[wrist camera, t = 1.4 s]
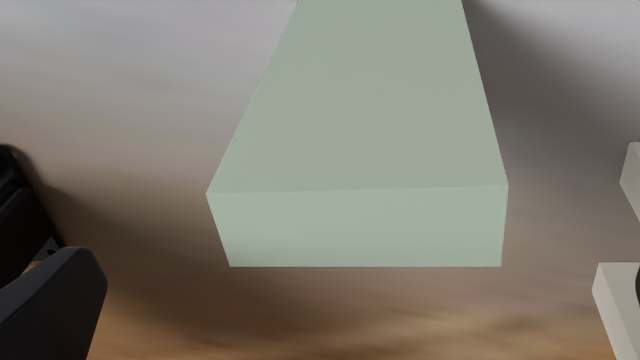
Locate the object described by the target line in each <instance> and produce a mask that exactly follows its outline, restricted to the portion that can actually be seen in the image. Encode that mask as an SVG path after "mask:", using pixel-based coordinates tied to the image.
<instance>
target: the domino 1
mask: <svg viewBox="0 0 640 360" xmlns="http://www.w3.org/2000/svg"><path fill="white" fill-rule="evenodd" d="M508 187H509V185H508V181H507V177H506V173H505V169H504V165H503V162H502V158H501V154H500V150H499V146H498V142H497V138H496V134H495V130H494V127H493V123H492V119H491V115H490V111H489V107H488V103H487V99H486V95H485V92H484V88H483V84H482V80H481V76H480V72H479V68H478V64H477V60H476V57H475V53H474V49H473V45H472V41H471V37H470V33H469V29H468V25H467V22H466V18H465V14H464V10H463V6H462V2H461V0H306V1H298V2H297V5H296V7H295V9H294V11H293V13H292V15H291V17H290V19H289V21H288V23H287V25H286V27H285V30H284V32H283V34H282V36H281V38H280V40H279V42H278V44H277V46H276V48H275V50H274V52H273V55H272V57H271V59H270V61H269V63H268V65H267V67H266V69H265V71H264V73H263V75H262V77H261V80H260V82H259V84H258V86H257V88H256V90H255V92H254V94H253V96H252V98H251V100H250V102H249V105H248V107H247V109H246V111H245V113H244V115H243V117H242V119H241V121H240V123H239V125H238V127H237V130H236V132H235V134H234V136H233V138H232V140H231V142H230V144H229V146H228V148H227V150H226V152H225V155H224V157H223V159H222V161H221V163H220V165H219V167H218V169H217V171H216V173H215V175H214V177H213V180H212V182H211V184H210V186H209V188H208V190H207V192H206V197H207V200H208V203H209V206H210V209H211V212H212V215H213V218H214V221H215V223H216V226H217V229H218V232H219V235H220V238H221V241H222V244H223V247H224V250H225V253H226V256H227V259H228V262H229V265H230V267H501V258H502V248H503V238H504V228H505V218H506V208H507V198H508Z"/></svg>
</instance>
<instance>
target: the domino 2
mask: <svg viewBox="0 0 640 360" xmlns="http://www.w3.org/2000/svg"><path fill="white" fill-rule="evenodd" d="M639 266H640V262H599V264H598V268H597V272H596V275H595V279H594V283H593V287H592V294H593V297H594V299H595V302H596V305H597V307H598V310H599V313H600V316H601V318H602V321H603V324H604V327H605V329H606V332H607V335H608V337H609V340H610V343H611V346H612V348H613V351H614V354H615V357H616V359H617V360H640V307H639V303H638V299H637V295H636V290H635V279H636V275H637V272H638V269H639Z"/></svg>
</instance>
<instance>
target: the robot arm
mask: <svg viewBox="0 0 640 360" xmlns="http://www.w3.org/2000/svg"><path fill="white" fill-rule="evenodd" d="M32 261H42V262H41V263H39V264H38V265H36V266H35V267H33V268H32V269H30V270H29V271H27V272H26V273H24V274H23V272H24V271H25V270H26V269H27V267H28V266H29V265H30V263H31V262H32ZM22 274H23V275H22ZM635 290H636V295H637V299H638V303H639V307H640V266H639V269H638V272H637V275H636V279H635ZM106 293H107V278H106V276H105V274H104V272H103V270H102V269H101V267H100V265H99V263H98V261H97V259H96V257H95V256H94V254H93V252H92V251H91V250H90V249H89V248H88V247H85V246H73V247H66V246H65V245H64V243H63V241H62V240H61V238H60V236H59V234H58V233H57V231H56V229H55V227H54V226H53V224H52V222H51V221H50V219H49V217H48V215H47V214H46V212H45V210H44V208H43V207H42V205H41V203H40V202H39V200H38V198H37V196H36V195H35V193H34V191H33V190H32V188H31V186H30V184H29V183H28V181H27V179H26V177H25V176H24V174H23V172H22V171H21V169H20V167H19V165H18V164H17V162H16V160H15V158H14V157H13V155H12V153H11V152H10V151H9V150H8V149H7V148H6V147H4V146H2V145H0V360H86V358H87V355H88V352H89V348H90V345H91V342H92V339H93V335H94V332H95V329H96V325H97V322H98V319H99V316H100V312H101V309H102V306H103V303H104V299H105V296H106Z"/></svg>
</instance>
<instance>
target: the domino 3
mask: <svg viewBox="0 0 640 360" xmlns="http://www.w3.org/2000/svg"><path fill="white" fill-rule="evenodd" d="M619 184H620V186H621V187H622V189H623V191H624V193H625V195H626V197H627V199H628V201H629V202H630V204H631V206H632V208H633V210H634V212H635V214H636V216H637V217H638V219H639V221H640V142H629V145H628V149H627V153H626V157H625V161H624V165H623V169H622V173H621V177H620V181H619Z"/></svg>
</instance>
